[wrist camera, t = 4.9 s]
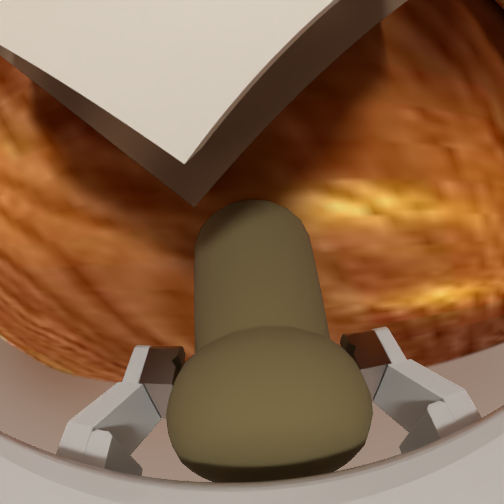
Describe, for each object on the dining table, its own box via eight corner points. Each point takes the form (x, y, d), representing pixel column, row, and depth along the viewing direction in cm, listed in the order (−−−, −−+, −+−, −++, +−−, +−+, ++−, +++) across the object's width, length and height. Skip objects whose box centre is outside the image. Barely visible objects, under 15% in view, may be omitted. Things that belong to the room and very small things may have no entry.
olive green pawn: (224, 318, 16) (217, 509, 7) (173, 228, 14) (79, 433, 4) (324, 282, 16) (401, 468, 6) (289, 180, 13) (413, 359, 3)
